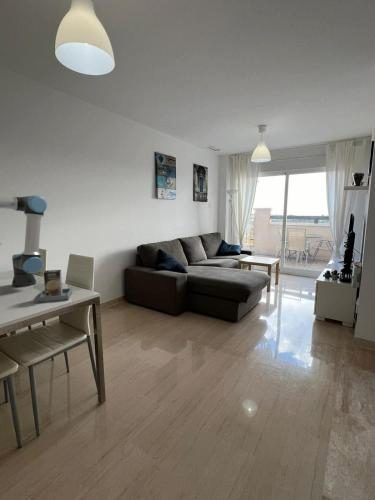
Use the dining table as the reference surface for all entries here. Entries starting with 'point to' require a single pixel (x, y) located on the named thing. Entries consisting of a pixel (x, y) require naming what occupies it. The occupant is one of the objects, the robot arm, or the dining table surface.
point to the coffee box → (53, 283)
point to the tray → (64, 296)
